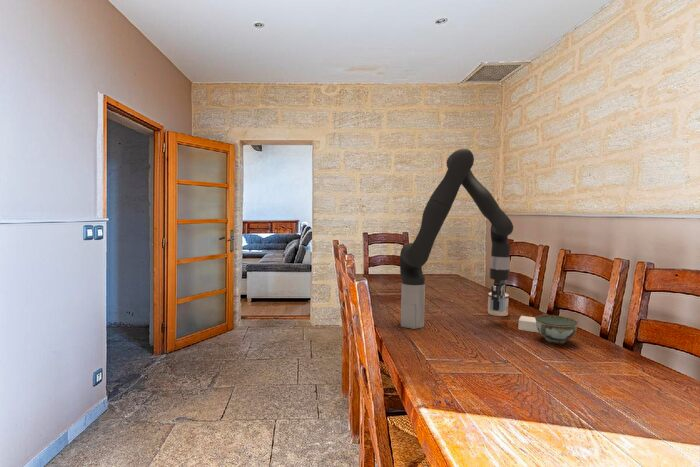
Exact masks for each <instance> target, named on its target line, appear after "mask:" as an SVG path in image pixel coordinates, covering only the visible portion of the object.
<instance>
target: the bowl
mask: <svg viewBox="0 0 700 467" xmlns="http://www.w3.org/2000/svg"><path fill="white" fill-rule="evenodd" d="M534 317H535V319H536V326H537V329H538V331H539V334H540V336H542V337H543V338H545V341H546V342H547V343H550V344H553V345H554V344H555V345H564V344H566V342H567V341H569V340H570V339H572V338H573V337H574V336H575V335H576V333H577V330H578V329H577V327H578V320H576V319H574V318H570V317H567V316H562V315H561V316H560V315H554V314H541V315H540V314H539V315H536V316H534Z"/></svg>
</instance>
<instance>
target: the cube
mask: <svg viewBox="0 0 700 467" xmlns="http://www.w3.org/2000/svg"><path fill="white" fill-rule="evenodd" d="M495 297H496V296H495ZM491 298H492V297H491ZM491 298H490V310H492V311H496V310H493V300H492V299H491ZM505 310H506V298H503V297H500V301H499V310H498V312H504V311H505Z"/></svg>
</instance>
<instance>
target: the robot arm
mask: <svg viewBox="0 0 700 467" xmlns="http://www.w3.org/2000/svg"><path fill="white" fill-rule="evenodd" d="M474 162H475V157H474V154H473V152H472V151H471V150H470V149H468V148H459V149H457V150H455V151H453V152H452V153H451V154H450V155H448V158H447V160H446V167H447V168H446V169H447V170H446V172H445V175H444V176H443V179H442V180H441V181H440V182H439V184H438V185H437V187H436V188H435V189H434V191H433V192H432V194H431V196H430V198H429V199H428V201H427V203H426V205H425V208H424V209H423V213H422V218H421V224H420V228H419V231H418V233H417V235H416V237H415V239H414V241H413V242H409V243H405V244H404V245H403V246H402V247H401V250H400V255H399V272H400V273H399V275H400V277H401V296H400V297H401V302H400V303H401V304H400V327H402V328H407V329H412V330H415V329H423V328H424V327H425V302H426V300H425V299H426V298H425V293H426V292H425V291H426V277H425V275H424V274H423V273H424V272H423V268H422V267H423V266H424V265H425V264H426V263H427V261H428V260H429V257H430V254H431V252H432V249H433V246H434V243H435V241H436V239H437V236H438V234H440V233H439V232H440V231H441V229H442V227H443V225H444V222H445V221H446V219H447V217H448V215H449V213H450V210H451V209H452V206H453V204H454V202H455V200H456V197H457V195H458V192H459V189H460V188H461V186H462V187H463V188H464V189H465V191H467V193H468V195H469V196H470V197H471V200H473V202H474V203H475V205H476V207H478V210H479V211H480V213H481V214H482V215H483V217H484V218H486V219H487V220H488V221H489V222H490V239H491V240H490V241H491V254H490V255H491V256H490V261H489V262H490V263H489V279H491V280H493V283H492V285H491V287H490V288H491V292H492V298H491V299H492V300H493V310H496V311H498V310H499V301H500V297H503V298H504V296H505V293H506V286H507V282H505V281H509V280H510V270H511V260H510V259H511V257H510V255H511V246H510V245H511V244H510V243H509V240H508V239H509V238H508V237H509V236H510V235H511V234H512V233H513V231H514V225H513V222H512V219H510V217H509V216H508V215H507V214H506V213H505V211H503V209H502V208H501V206H500V205H499V204H498V202H497V201H496V200H495V198H494V196H493V195H492V193H491V192H490V191H489V190H488V188H486V187H485V186H484V185H483V183H481V182H480V181H479V180H478V179H477V177H475V175H474V173H473V171H472V170H471V169H472V167H473V165H474ZM495 295H497V297H495Z"/></svg>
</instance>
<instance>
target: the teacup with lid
mask: <svg viewBox="0 0 700 467" xmlns="http://www.w3.org/2000/svg"><path fill="white" fill-rule="evenodd" d="M487 296H488V297H487V298H488V299H487V314H488V315H490V316H495V317H506V316H508V315H509V298H510V295H509V294H508V293H506V292H505V296H504V298H506V310H505V311H504V312H498V311H492V310H490V298H491V297H492V292H488V293H487ZM495 296H496V297H497V295H495Z"/></svg>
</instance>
